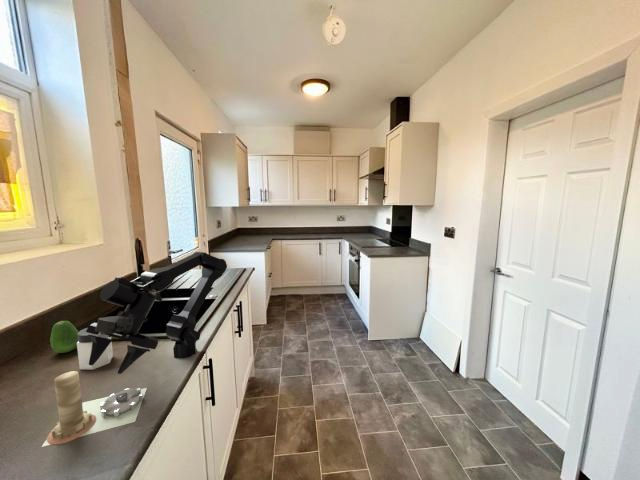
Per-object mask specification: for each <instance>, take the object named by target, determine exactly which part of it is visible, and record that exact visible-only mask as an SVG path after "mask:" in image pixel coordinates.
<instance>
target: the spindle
mask: <svg viewBox="0 0 640 480" xmlns="http://www.w3.org/2000/svg"><path fill="white" fill-rule="evenodd" d="M79 374H80V373H79V371H76V370H72V371H68V372H64V373H62V374H60V375H58V376H57V377H55V378H54V380H53V384H54V390H55V399H56V405H57V406H56V407H57V411H58V413H57V414H58V419H59V420H58V421H57V422H56V423H55V427H54V428H55V429H54V428H52V429H51V431H52V437H53V438H54V437H56V438H57V441H61V440H62V439H64V438H68V437H71V438H72V437H74V436H76V435H77V433H79V432H81V431H82V430H83V429H87V428H88V427H89V422H90V421H92V415H91V413H90V414H88V413H87V411H83V406H82V403H83V400H82V398H83V397H82V391H81V390H82V389H81V385H80V384H81V383H80V376H79Z"/></svg>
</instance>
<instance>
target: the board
mask: <svg viewBox="0 0 640 480" xmlns="http://www.w3.org/2000/svg"><path fill="white" fill-rule="evenodd" d="M140 389H141V394H142V393H143V400H144V397H145V394H146V391H147V389H148V387H143V388H140ZM108 398H109V396H105V397H102V398H97V399H93V400H88V401H84V402H83V401H82V406H83V411H87V413H88V414H90V413H91V415H92V421H90V422H89V427H88V428H87V429H83V430H82V431H81V432H79V433H77V435H76V436H74V437H72V438H71V437H68V438H64V439H62V440H61V441H57V438H56V437H54V438H53V437H52V430H51V431H50V432H49V434H48V435H47V437H46V440H45V441H44V442H43V444H42V446H41V448H44V447H48V446H51V445H63V444H66V443H69V442H72V441H73V440H75V439H78V438H81V437H85V436H88V435H91V434H95V433H100V432H102V431H103V432H104V431H106V430H107V431H108V430H111V429H114V428H117V427H121V426H125V425H129V424H132V423H133V424H134V423H135V422H136V420H137V418H138V415H139V413H140V410H141V406H142V403H143V400H142V401H140V402H139V403H138V405H137V406H136V408H135V409H134V410H132V411H131V410H130V411H128V412H126V413H124V414H121V415H120V416H119V417H114V416H111V417H110V416H106V417H105V418H104V417H102V414H101V410H100V405H101V403H103V402H105V401H106V400H107V399H108ZM53 429H55V427H54V428H53Z"/></svg>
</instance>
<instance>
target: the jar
mask: <svg viewBox="0 0 640 480" xmlns="http://www.w3.org/2000/svg"><path fill="white" fill-rule="evenodd" d="M87 329H88V327H86V328H83V329H80V330H78V333H77V337H78V342H77V347H76V349H77V357H78V363H79V364H78V365H79V370H90V371H91V370H92V371H93V370H96V369H98V368H101V367H103V366H106V365H108V364H110V363H111V361H112V359H113V357H114V354H113V353H114V352H113V343H112V341H113V340H112V341H111V343H110V344H109V345H108V347H107V348H106V349H105V351H104V352H103V353H102V355H101V356H100V357H99V359H98V360H97V361H96V362H95V363H94V365H89V360H90V355H91V350H92V340H91V338H90V337H89V336H88V334H90V335H91V333H88V332H86V330H87ZM108 338H109V339H112V337H108Z"/></svg>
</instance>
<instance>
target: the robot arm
mask: <svg viewBox="0 0 640 480" xmlns="http://www.w3.org/2000/svg"><path fill="white" fill-rule="evenodd" d="M198 266H200V267H201V277H200V279H199V281H198V283H197V284H196V286H195V288H194V289H193V291H192V293H191V294H190V297H189V298H188V300H187V302H186V304H185V305H184V308H183V309H182V311H181V312H180V313H178V314H175V313H174V314H173V315H171V318H170V319H169V321H168V323H166V328H165V334H166V337H167V338H169V339H170V341H171V342H175V343H174V345H173V348H172V349H173V358H174V359H187V358H190V357H191V356H193V355H196V354H197V352H198V349H197V342H198V341H199V340H200V337H201V333H200V332H199V331H197V330H195V329H196V325H197V322H196V321H197V320H196V319H197V315H198V313H199V311H200V309H201V308H202V305H203V304H204V302H205V300H206V298H207V297H208V294H209V293H210V291H211V289H212V287H213V285H214V283H215V282H216V281H217V280H219V279H220V278H221V277H223V275H224V274H225V272H226V270H227V268H228V263H227V261H226V260H225V259H223V258H218V257H216V256H214V255H211V254H209V253H207V252H203V251H195V252H194V253H192V254H191V255H188V256H186V257H184V258H182V259H180V260H177V261H175V262H174V263H171V264H169V265H167V266H164V267H163V266H162V267H157V268H153V269H149V270H146V271H144V272H142V273H141V274H140V276H138V277H136V278H135V279H133V280H127V279H126V278H124V277H122V276H116V277H115V278H114V279H113V280H111V281H110V282H108V283H107V284H106V285H104V286H103V288H102V289H101V291H100V294H99V298H100V300H101V301H103V302H104V301H105V302H107V303H110V304H113V305H117V306H120V307H123V308H124V307H126V308H125V309H124V311H123V310H119V312H118V313H117V315H115V316H114V315H113V316H105V317H99V318H97V322H92V323H91V324H90V325H89V326H88V327H87V328H88V329H87V330H86V332H88V333H91V335H90V334H88V336H89V337H90V338H91V340H92V350H91V355H90V360H89V365H94V363H95V362H96V361H97V360H98V359H99V357H100V356H101V355H102V353H103V352H104V351H105V349H106V348H107V347H108V345H109V344H110V343H111V341H113V339H112V338H117V339H120V340H124V341H127V342H131V345H130V344H127V352H126V354H125V356H124V358H123V360H122V362H121V364H120V365H119V368H118V370H117V374H118V375H122V374H123V373H124V372H125V371H126V370H127V369H128V368H129V367H130V366H131V365H132V364H134V363H135V362H136V361H137V360H138V359H139V358H140V357H142V356H143V355H145V354H146V353H147V352H151V349H152V350H156V349H157V346H158V345H159V339H158V338H156V337H153V336H149V335H144V334H141V333H142V332H141V331H140V329H141V327H142V325H143V323H144V322H146V323H147V322H148V320H149V318H148V317H147V316H148V314H149V313H150V310H151V308H152V307H153V304H154V303H155V301H156V302H162V301H163V299H162V296H161V291H164V290H165V289H166V288H167V287H169V286H170V285H171V284H173V282H174V280H175V279H176V278H178V277H179V276H182V275H183V274H185V273H188V272H190V271H191V270H192V269H193V270H194V268H196V267H198ZM140 290H142V291H140ZM151 291H153V292H151ZM139 331H140V332H139ZM108 337H111V339H109V338H108Z"/></svg>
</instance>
